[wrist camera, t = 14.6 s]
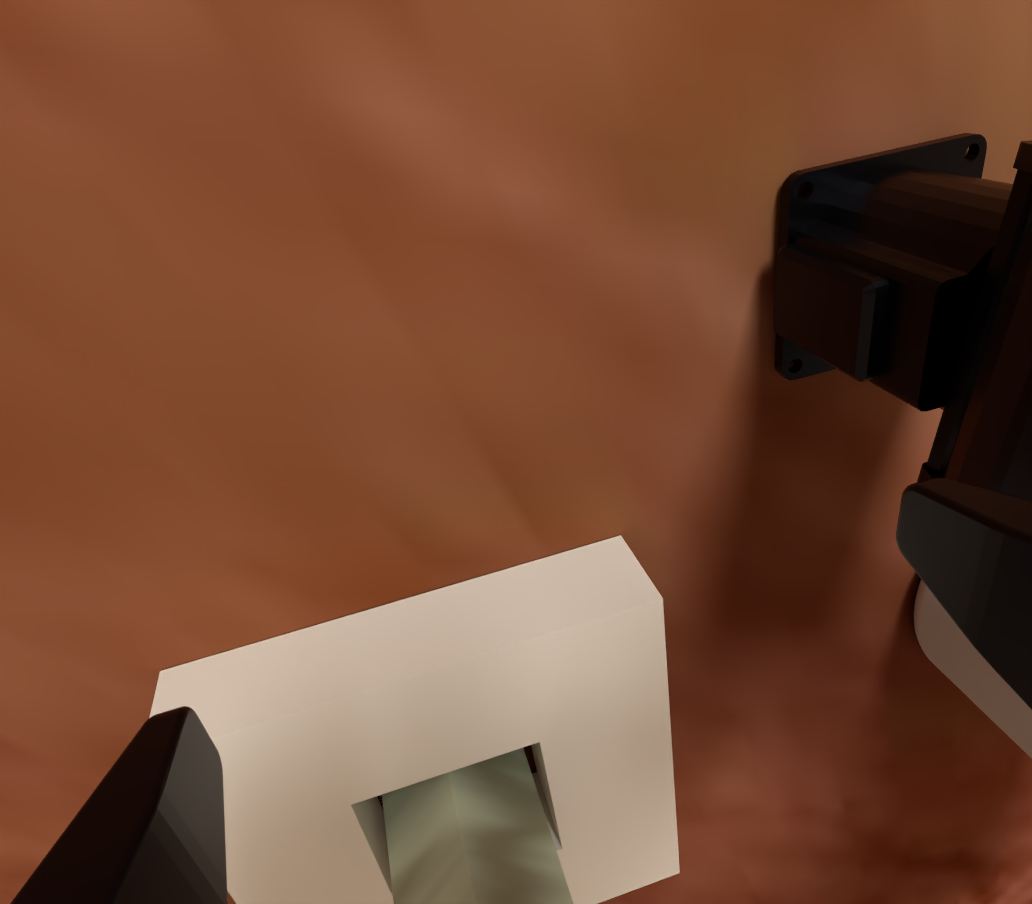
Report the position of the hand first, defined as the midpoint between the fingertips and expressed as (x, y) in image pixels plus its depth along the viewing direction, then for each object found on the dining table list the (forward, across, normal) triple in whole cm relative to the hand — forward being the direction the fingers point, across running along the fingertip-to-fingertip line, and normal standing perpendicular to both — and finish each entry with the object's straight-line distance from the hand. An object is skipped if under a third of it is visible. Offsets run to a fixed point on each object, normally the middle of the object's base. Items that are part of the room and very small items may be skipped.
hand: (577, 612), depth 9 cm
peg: (+13, +3, +18) cm, 22 cm away
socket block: (+13, +3, +18) cm, 22 cm away
